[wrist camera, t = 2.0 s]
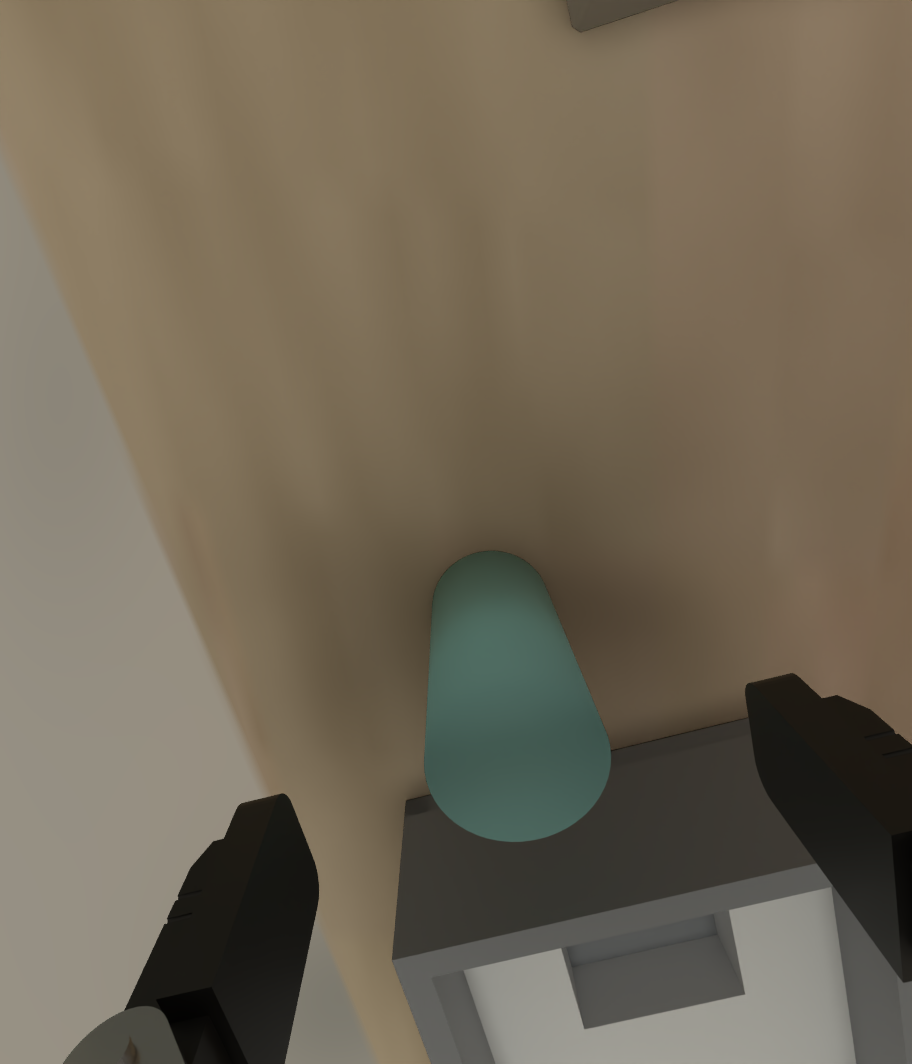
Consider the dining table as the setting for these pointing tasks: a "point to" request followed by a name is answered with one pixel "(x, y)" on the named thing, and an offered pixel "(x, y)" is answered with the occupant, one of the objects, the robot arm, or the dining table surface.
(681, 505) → the dining table surface
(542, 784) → the peg
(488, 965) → the bin
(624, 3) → the lighter
